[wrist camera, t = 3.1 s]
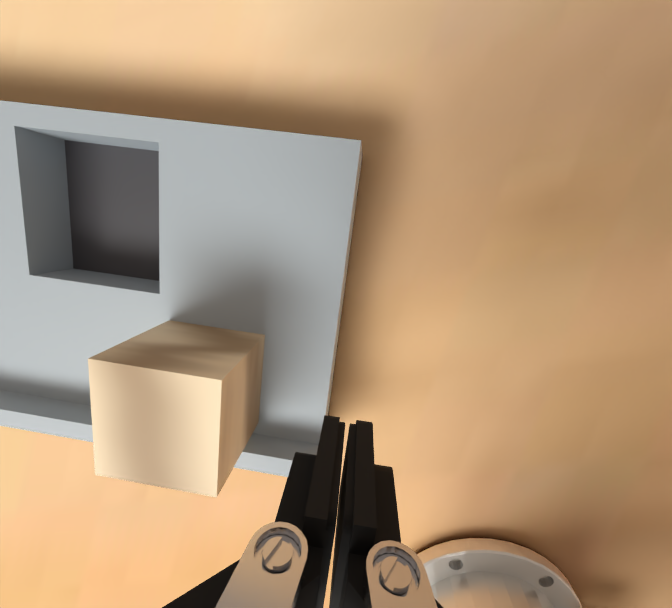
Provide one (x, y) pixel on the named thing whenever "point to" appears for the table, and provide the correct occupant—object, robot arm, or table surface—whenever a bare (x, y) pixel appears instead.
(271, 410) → the board
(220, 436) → the maple cube
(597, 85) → the table surface
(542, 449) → the table surface
